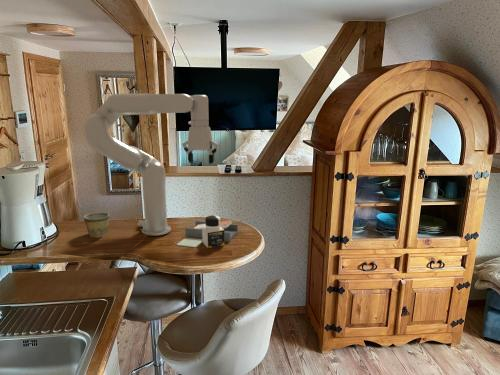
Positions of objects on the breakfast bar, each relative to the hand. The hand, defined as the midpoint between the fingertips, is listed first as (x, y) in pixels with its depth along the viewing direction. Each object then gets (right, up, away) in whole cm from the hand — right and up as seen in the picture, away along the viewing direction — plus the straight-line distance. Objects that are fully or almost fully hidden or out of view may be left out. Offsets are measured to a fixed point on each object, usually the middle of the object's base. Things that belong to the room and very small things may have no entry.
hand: (200, 162), depth 165 cm
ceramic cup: (-42, -32, -6) cm, 54 cm away
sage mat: (-3, -34, -13) cm, 36 cm away
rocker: (+5, -28, -4) cm, 29 cm away
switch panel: (+5, -32, -3) cm, 32 cm away
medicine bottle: (+7, -35, -13) cm, 38 cm away
